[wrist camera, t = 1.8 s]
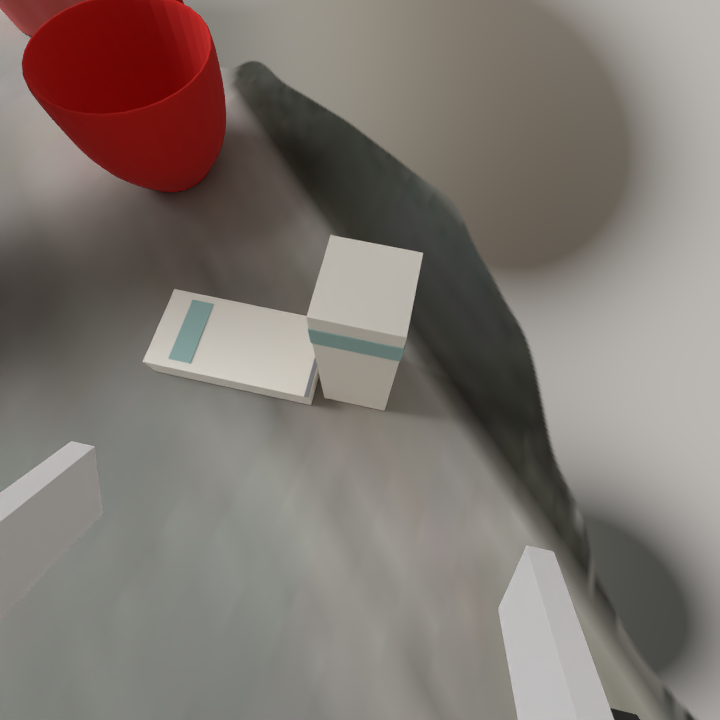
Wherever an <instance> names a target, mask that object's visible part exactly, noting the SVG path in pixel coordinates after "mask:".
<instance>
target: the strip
mask: <svg viewBox="0 0 720 720" xmlns="http://www.w3.org/2000/svg"><path fill="white" fill-rule="evenodd" d="M143 362H144V363H145V364H146V365H148V366H149V367H150V368H152V369H153V370H154V371H157V372H161V373H166V374H170V375H175V376H180V377H184V378H189V379H193V380H198V381H202V382H207V383H212V384H216V385H221V386H225V387H230V388H235V389H239V390H244V391H248V392H253V393H257V394H262V395H267V396H271V397H276V398H280V399H285V400H290V401H294V402H299V403H303V404H308V405H311V404H312V400H313V397H314V393H315V389H316V385H317V382H318V378H319V372H318V367H317V363H316V358H315V354H314V349H313V345H312V343H311V342H310V338H309V333H308V322H307V318H306V316H304V315H299V314H294V313H289V312H284V311H279V310H274V309H270V308H265V307H260V306H255V305H250V304H245V303H240V302H235V301H231V300H226V299H221V298H216V297H211V296H206V295H201V294H196V293H192V292H187V291H182V290H177V289H174V291H173V293H172V296H171V298H170V300H169V303H168V305H167V307H166V309H165V312H164V314H163V316H162V319H161V321H160V323H159V325H158V328H157V330H156V332H155V335H154V337H153V339H152V341H151V344H150V346H149V348H148V350H147V353H146V355H145V357H144V360H143Z"/></svg>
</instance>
